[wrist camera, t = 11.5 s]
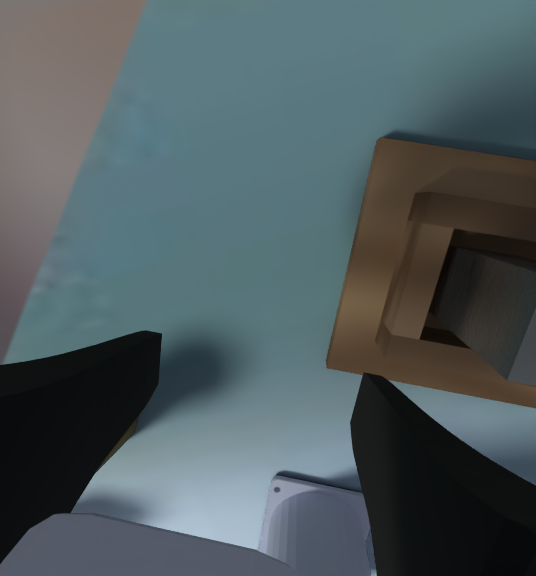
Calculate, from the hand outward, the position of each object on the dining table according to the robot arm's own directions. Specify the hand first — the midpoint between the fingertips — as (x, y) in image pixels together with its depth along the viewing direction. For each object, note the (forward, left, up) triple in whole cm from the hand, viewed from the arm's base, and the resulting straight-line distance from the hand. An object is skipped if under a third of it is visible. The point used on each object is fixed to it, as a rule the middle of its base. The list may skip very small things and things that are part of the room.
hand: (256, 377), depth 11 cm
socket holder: (+3, -11, -10) cm, 15 cm away
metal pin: (+3, -11, -9) cm, 15 cm away
